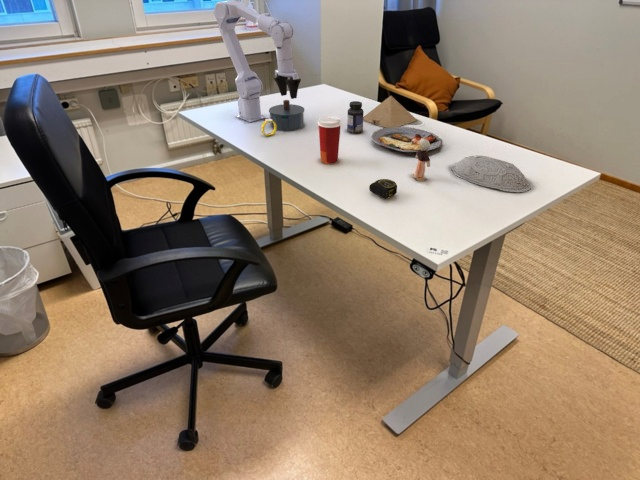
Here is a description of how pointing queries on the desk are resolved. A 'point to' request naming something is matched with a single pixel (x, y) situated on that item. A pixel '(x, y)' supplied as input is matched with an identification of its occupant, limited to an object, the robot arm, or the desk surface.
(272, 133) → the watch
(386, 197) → the tape measure
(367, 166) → the desk surface
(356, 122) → the pill bottle
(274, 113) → the lid
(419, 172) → the grandmother figurine
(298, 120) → the pot
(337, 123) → the paper cup
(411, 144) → the food plate
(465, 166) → the grey oval dome
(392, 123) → the model pyramid
